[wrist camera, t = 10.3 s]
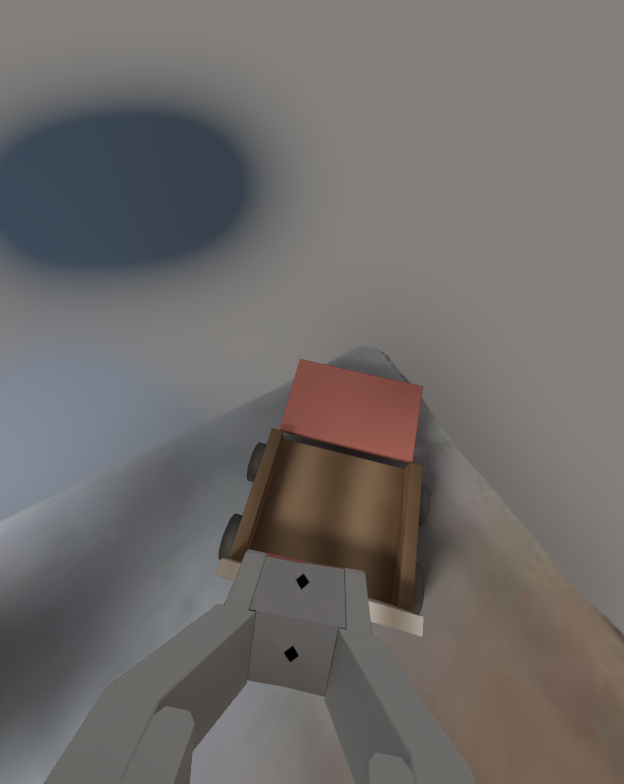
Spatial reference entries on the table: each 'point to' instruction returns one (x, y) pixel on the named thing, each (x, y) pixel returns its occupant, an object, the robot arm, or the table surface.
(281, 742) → the table surface
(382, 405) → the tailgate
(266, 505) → the trailer
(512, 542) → the table surface
